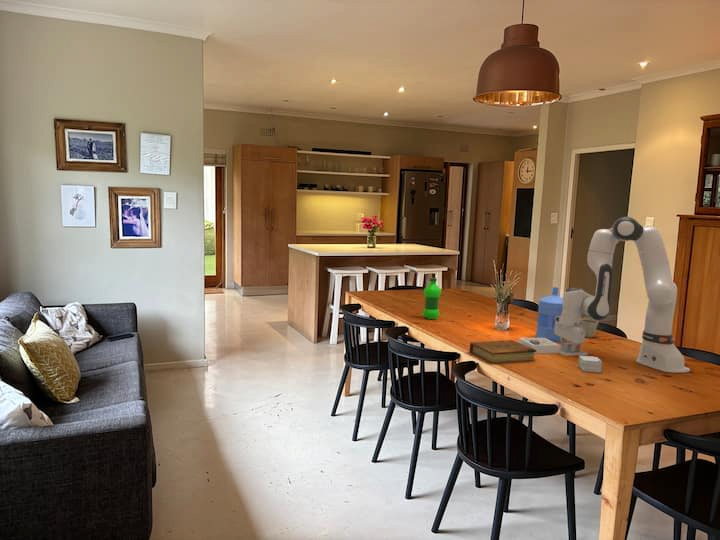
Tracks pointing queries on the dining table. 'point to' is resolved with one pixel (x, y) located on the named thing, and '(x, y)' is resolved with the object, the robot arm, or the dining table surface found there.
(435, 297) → the plastic bottle
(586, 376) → the dining table surface
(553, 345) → the flat white box
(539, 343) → the pebble charcoal
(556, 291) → the water jug
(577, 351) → the pebble brown
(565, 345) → the pebble slate
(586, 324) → the flower pot
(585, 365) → the small box
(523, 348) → the diary
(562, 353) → the tray
